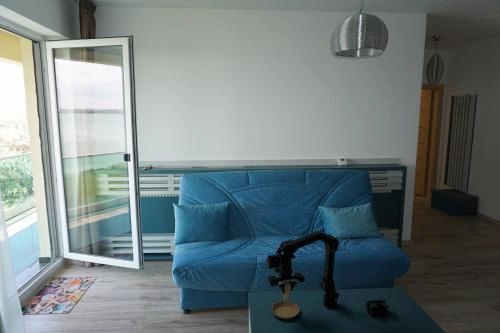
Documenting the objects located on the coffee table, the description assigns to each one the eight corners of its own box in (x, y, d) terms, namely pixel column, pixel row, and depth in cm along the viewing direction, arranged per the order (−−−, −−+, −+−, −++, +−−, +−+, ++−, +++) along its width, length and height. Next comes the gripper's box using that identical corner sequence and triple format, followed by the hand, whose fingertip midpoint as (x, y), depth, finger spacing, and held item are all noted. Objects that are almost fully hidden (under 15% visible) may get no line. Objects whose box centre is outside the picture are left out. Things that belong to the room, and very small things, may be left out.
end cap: (382, 308, 178) (383, 297, 177) (389, 316, 172) (390, 304, 170) (364, 309, 178) (365, 298, 176) (370, 317, 171) (371, 305, 169)
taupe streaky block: (286, 294, 177) (287, 280, 176) (290, 299, 172) (290, 284, 171) (281, 295, 176) (281, 280, 175) (284, 300, 171) (285, 285, 170)
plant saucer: (298, 323, 167) (298, 318, 166) (269, 320, 170) (269, 315, 169) (300, 307, 181) (300, 302, 181) (273, 304, 184) (273, 299, 184)
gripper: (297, 257, 182) (296, 284, 184) (264, 261, 177) (264, 289, 179) (305, 266, 171) (304, 294, 173) (271, 271, 166) (270, 300, 169)
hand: (286, 294), depth 174 cm, fingers closed on taupe streaky block, 3 cm apart
